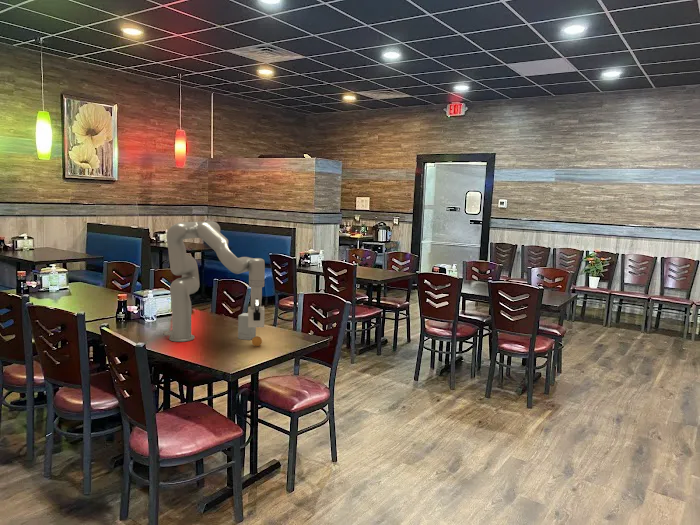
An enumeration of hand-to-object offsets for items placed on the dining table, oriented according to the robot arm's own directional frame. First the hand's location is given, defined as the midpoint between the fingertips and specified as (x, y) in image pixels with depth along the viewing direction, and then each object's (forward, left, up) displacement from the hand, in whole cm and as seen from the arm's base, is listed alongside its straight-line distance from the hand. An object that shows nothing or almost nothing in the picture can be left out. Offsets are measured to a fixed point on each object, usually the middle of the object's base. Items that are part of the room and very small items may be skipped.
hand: (256, 318), depth 271 cm
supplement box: (-4, +17, -15) cm, 23 cm away
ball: (0, 0, -12) cm, 12 cm away
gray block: (0, 0, -4) cm, 4 cm away
